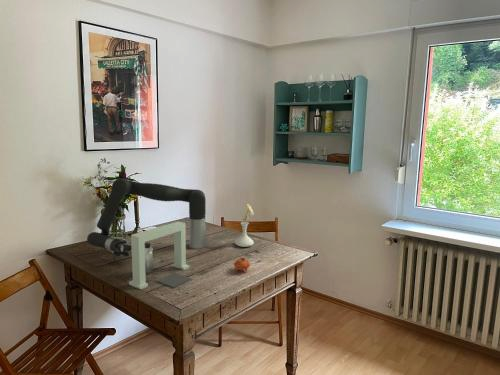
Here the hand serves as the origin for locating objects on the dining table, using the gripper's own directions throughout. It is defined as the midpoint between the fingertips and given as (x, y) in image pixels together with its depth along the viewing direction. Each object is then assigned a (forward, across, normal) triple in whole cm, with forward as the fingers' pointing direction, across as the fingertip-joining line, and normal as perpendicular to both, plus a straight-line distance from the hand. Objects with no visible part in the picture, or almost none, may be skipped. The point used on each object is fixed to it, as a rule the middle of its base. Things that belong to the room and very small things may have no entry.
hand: (135, 252), depth 179 cm
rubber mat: (+27, 0, +8) cm, 28 cm away
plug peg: (+9, 0, +8) cm, 12 cm away
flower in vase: (+24, +60, +8) cm, 65 cm away
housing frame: (+18, 0, +8) cm, 20 cm away
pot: (+45, +28, +8) cm, 54 cm away
